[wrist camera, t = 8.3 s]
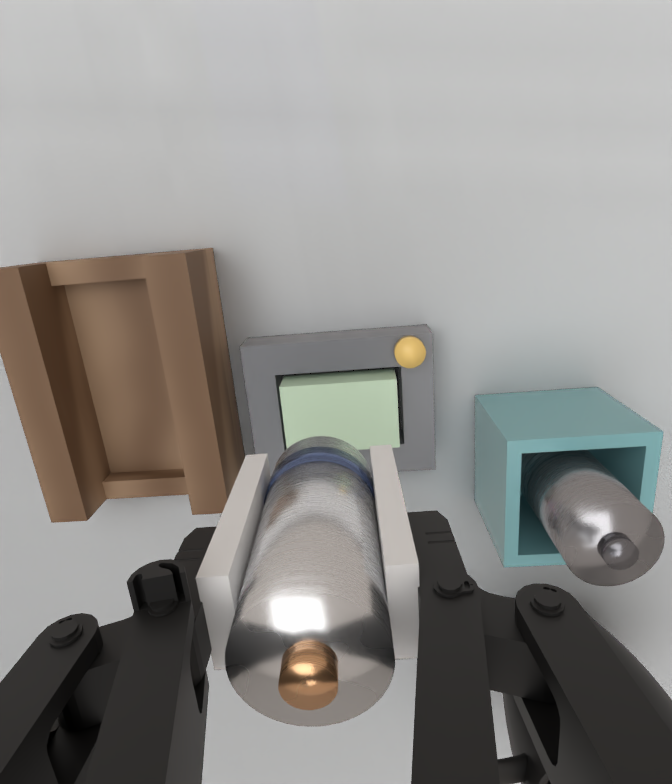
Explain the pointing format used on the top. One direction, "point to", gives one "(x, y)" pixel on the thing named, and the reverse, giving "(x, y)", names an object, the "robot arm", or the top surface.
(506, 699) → the mug
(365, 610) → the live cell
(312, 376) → the pale green block
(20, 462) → the top surface
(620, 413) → the teal open bin
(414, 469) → the frame
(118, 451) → the trough
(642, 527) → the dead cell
